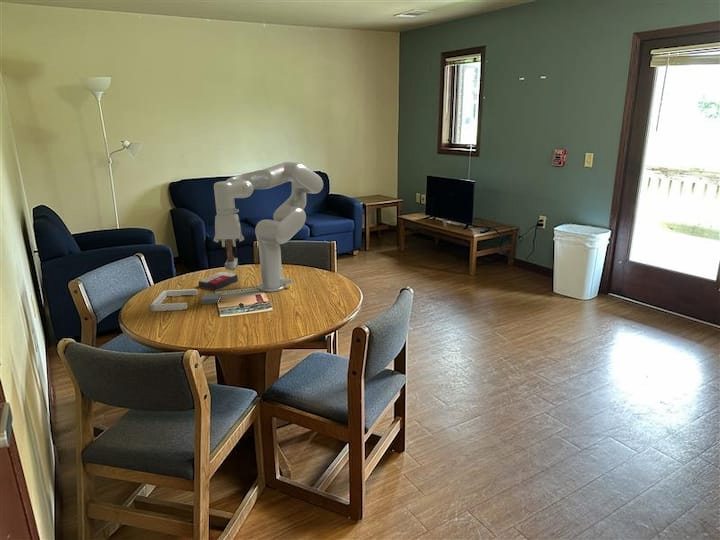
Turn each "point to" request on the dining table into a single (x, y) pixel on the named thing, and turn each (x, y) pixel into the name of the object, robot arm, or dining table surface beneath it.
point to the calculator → (218, 280)
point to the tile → (210, 298)
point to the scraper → (230, 257)
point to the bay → (171, 306)
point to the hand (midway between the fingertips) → (230, 254)
